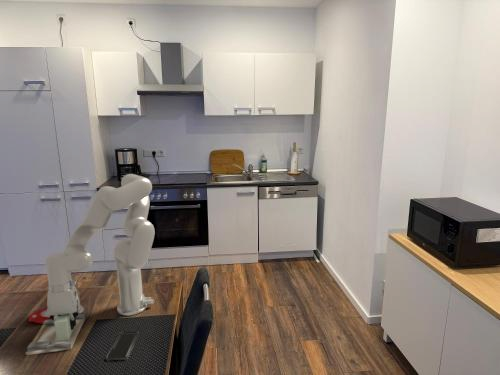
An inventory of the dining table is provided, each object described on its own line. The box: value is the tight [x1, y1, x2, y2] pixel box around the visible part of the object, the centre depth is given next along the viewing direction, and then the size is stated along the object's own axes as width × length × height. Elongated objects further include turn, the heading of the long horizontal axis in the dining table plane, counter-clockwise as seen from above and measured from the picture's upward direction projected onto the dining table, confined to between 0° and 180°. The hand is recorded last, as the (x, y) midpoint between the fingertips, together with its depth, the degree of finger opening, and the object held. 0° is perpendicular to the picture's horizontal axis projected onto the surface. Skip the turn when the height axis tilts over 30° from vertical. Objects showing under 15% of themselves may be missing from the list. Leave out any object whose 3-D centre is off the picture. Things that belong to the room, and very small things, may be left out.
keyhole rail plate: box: [25, 313, 86, 356], centre depth 131 cm, size 15×19×2 cm
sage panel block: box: [54, 314, 75, 341], centre depth 130 cm, size 4×10×8 cm, turn 12°
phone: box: [105, 331, 140, 361], centre depth 124 cm, size 8×1×15 cm
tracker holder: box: [28, 305, 50, 325], centre depth 143 cm, size 12×4×10 cm
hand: (66, 328), depth 131 cm, fingers closed on sage panel block, 4 cm apart
